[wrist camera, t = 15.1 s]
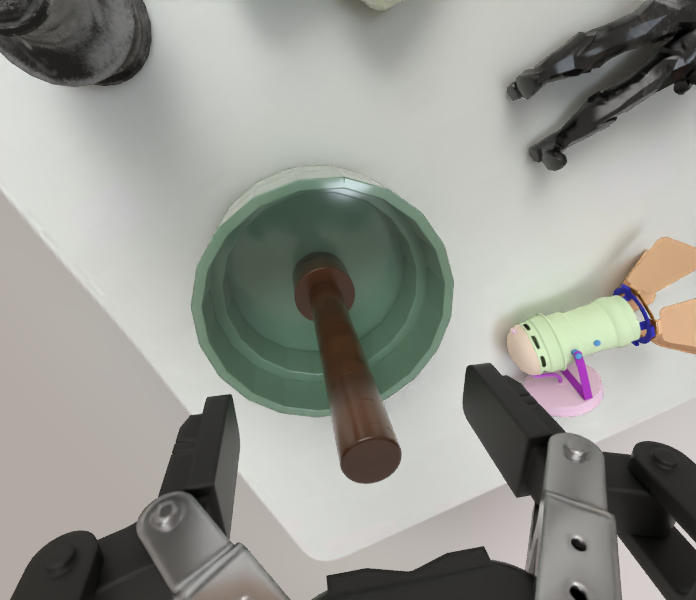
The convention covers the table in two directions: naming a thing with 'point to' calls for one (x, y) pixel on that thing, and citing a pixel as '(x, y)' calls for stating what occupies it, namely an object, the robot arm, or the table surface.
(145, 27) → the chess piece
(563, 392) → the spotlight
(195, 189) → the table surface
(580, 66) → the action figure
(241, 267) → the bowl
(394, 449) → the muddler
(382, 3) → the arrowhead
